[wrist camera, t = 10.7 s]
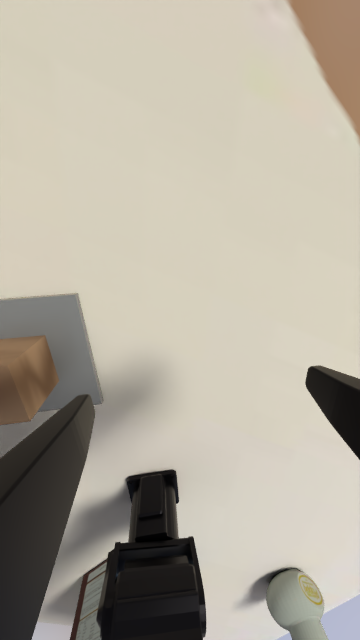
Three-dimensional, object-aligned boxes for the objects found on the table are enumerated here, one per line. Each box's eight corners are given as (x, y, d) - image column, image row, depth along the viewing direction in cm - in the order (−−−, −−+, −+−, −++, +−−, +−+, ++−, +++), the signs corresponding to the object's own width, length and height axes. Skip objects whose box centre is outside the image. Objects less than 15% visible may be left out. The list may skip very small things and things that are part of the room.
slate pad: (103, 399, 22) (101, 403, 22) (-14, 414, 21) (-19, 418, 21) (77, 293, 18) (75, 294, 17) (-70, 304, 17) (-77, 306, 16)
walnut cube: (59, 380, 20) (30, 421, 15) (6, 386, 20) (-41, 429, 15) (45, 335, 18) (7, 365, 14) (-14, 340, 18) (-74, 373, 13)
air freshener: (314, 571, 43) (358, 661, 34) (286, 590, 45) (320, 680, 36) (284, 560, 40) (323, 656, 31) (254, 580, 42) (282, 677, 32)
